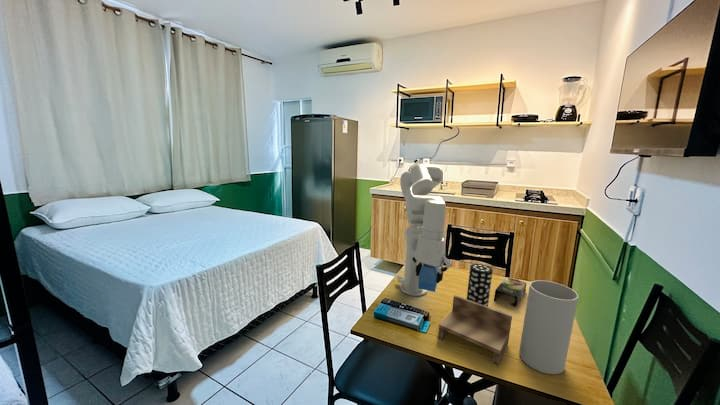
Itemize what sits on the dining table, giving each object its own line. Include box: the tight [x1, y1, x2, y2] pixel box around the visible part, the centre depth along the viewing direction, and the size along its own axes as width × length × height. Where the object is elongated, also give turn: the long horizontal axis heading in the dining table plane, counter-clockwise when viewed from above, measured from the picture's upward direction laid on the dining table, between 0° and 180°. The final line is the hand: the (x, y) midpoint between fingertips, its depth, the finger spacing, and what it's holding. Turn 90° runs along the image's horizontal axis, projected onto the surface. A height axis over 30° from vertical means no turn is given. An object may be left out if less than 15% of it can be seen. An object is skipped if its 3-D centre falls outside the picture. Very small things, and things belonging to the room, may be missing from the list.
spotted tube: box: [466, 263, 493, 307], centre depth 118 cm, size 8×8×20 cm
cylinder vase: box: [518, 279, 579, 375], centre depth 91 cm, size 12×12×25 cm
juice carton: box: [493, 277, 527, 308], centre depth 134 cm, size 20×10×6 cm, turn 140°
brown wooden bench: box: [437, 294, 513, 367], centre depth 101 cm, size 20×13×12 cm, turn 51°
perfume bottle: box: [418, 264, 438, 293], centre depth 109 cm, size 6×6×12 cm
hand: (428, 277), depth 109 cm, fingers closed on perfume bottle, 7 cm apart
